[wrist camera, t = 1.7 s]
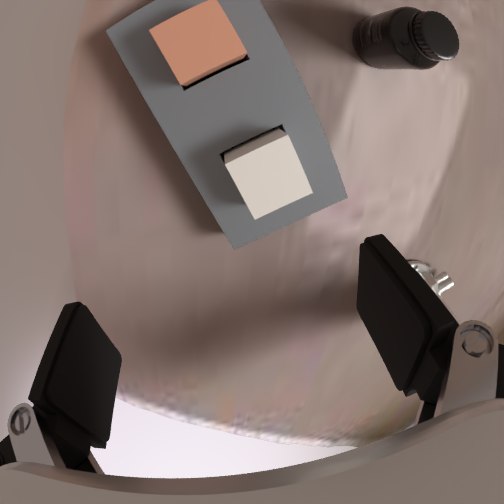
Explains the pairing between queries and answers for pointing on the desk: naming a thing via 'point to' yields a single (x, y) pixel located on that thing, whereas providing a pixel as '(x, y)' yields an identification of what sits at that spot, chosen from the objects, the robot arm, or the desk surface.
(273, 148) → the off-white key
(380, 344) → the robot arm
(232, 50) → the terracotta key
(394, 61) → the supplement bottle
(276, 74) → the key panel
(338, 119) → the desk surface
